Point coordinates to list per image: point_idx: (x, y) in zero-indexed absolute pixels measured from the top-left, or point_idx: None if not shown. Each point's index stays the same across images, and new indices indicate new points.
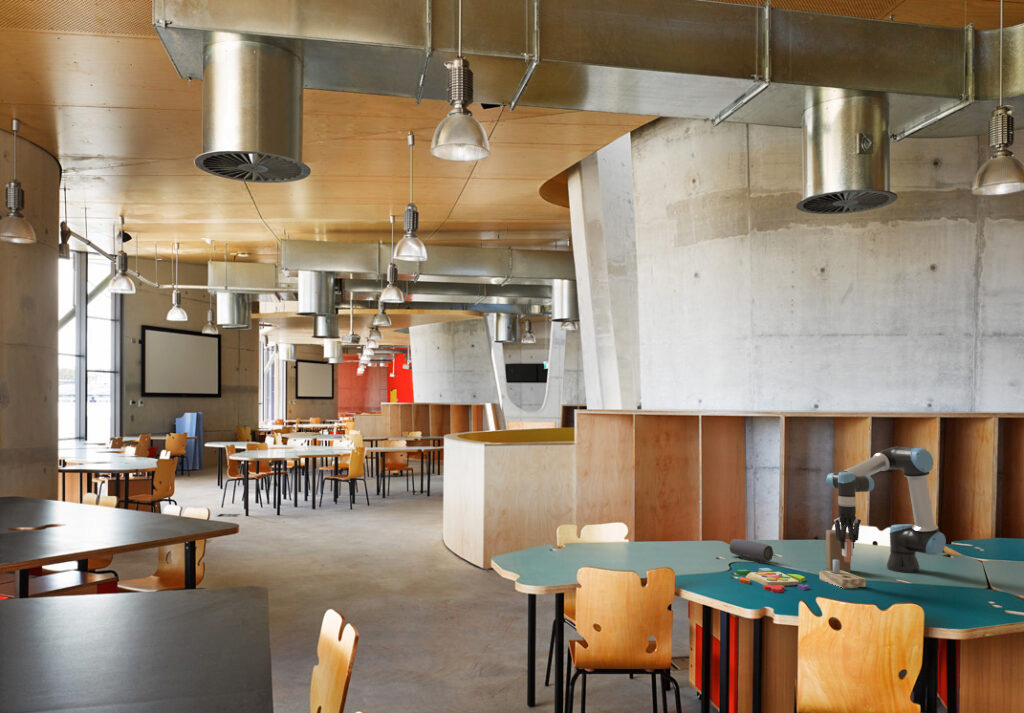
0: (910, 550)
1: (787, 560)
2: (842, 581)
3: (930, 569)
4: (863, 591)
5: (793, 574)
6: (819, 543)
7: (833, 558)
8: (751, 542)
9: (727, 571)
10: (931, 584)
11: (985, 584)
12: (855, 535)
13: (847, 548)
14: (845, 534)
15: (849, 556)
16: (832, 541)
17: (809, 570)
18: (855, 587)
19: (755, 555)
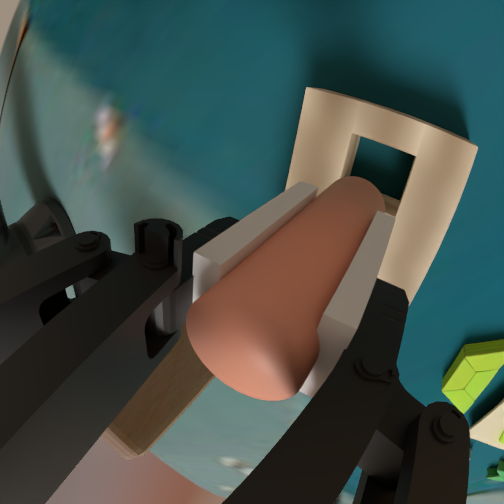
0: (8, 228)
1: (247, 448)
2: (475, 145)
3: (29, 205)
4: (408, 35)
5: (455, 399)
6: None
7: (200, 371)
8: None
9: (500, 488)
10: (73, 73)
11: (16, 61)
12: (50, 316)
13: (342, 249)
14: (254, 488)
15: (348, 194)
16: (156, 423)
17: None
18: (387, 107)
19: (334, 502)
